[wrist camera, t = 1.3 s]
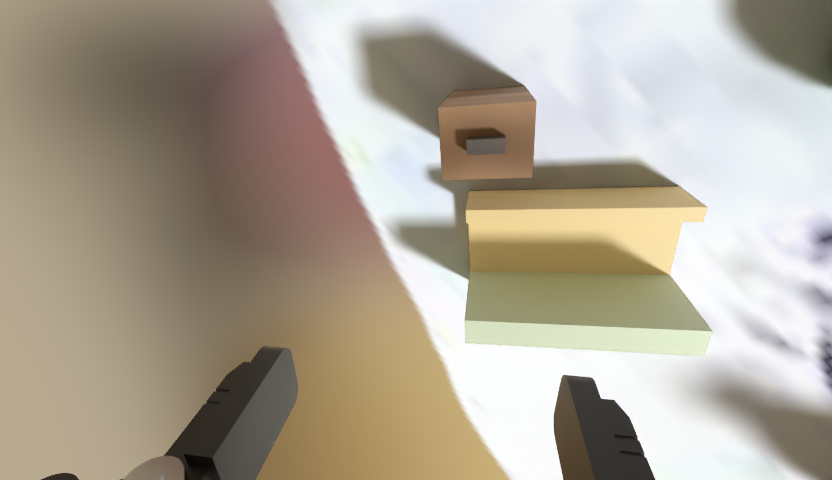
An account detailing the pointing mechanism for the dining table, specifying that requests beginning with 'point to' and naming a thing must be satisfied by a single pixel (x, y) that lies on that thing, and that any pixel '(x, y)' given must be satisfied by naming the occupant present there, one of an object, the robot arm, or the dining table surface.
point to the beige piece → (581, 270)
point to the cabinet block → (487, 134)
